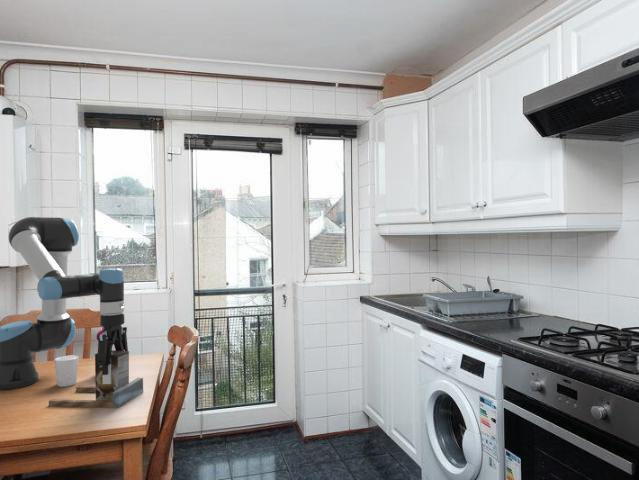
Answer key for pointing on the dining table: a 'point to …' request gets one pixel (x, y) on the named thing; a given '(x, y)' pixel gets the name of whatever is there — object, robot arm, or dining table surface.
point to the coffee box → (112, 375)
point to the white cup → (66, 370)
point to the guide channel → (119, 400)
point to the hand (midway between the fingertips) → (113, 380)
